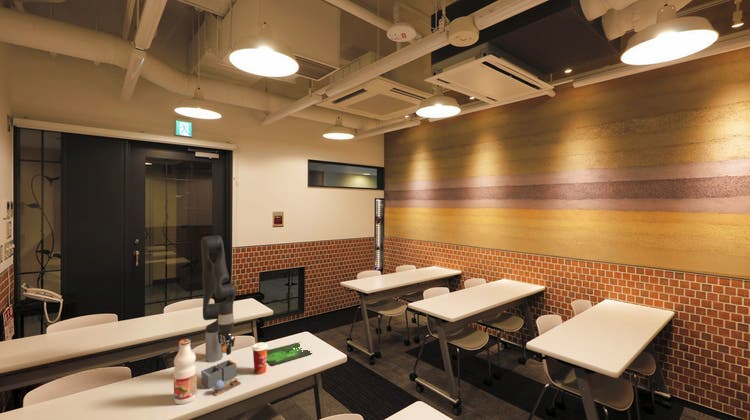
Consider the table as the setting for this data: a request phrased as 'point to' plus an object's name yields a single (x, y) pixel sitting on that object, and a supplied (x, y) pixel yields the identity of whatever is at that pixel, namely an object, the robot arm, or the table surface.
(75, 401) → the table surface
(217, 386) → the blue ball
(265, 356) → the coffee cup
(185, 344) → the fruit juice
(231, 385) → the walnut seat rail
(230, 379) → the card
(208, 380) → the tube
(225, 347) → the orange ball
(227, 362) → the tube
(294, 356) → the mouse mat
